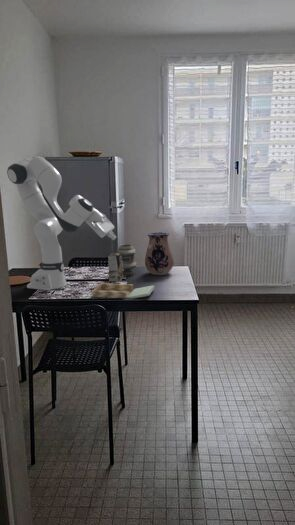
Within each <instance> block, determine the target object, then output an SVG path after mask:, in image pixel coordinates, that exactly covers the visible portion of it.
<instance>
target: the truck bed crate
mask: <svg viewBox="0 0 295 525" xmlns="http://www.w3.org/2000/svg"><path fill="white" fill-rule="evenodd" d="M133 290H134V284H130V283H128V284H127V283H105V282H103V283H102V282H100V284H98V285H97V286H96V287H94V289H92V290H91V293H92V294H91V295H92V297H93V298H111V299H112V298H113V299H114V298H115V299H128V298H127V297H128V296H129V295H130V294H131V293H132V291H133Z"/></svg>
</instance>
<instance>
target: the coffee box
mask: <svg viewBox="0 0 295 525" xmlns="http://www.w3.org/2000/svg"><path fill="white" fill-rule="evenodd" d="M107 258H108V259H107V260H108V277H109V278H108V281H109V282H122V281H123V280H124V275H123V260H122V253H117V252H111V253H110V254H109V255H108V256H107ZM122 279H123V280H122Z"/></svg>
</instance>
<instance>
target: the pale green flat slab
mask: <svg viewBox="0 0 295 525" xmlns="http://www.w3.org/2000/svg"><path fill="white" fill-rule="evenodd" d="M155 288H156V287H155V284H152V285H148V286H142V287H138V288H137V287H136V288H133V291H132V292H131V293H130V294H129V295H128V297H127V298H126V299H138V298H144V297H149V296H150V295H151V293H152V292H153V290H154V289H155Z"/></svg>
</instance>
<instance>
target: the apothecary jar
mask: <svg viewBox="0 0 295 525" xmlns="http://www.w3.org/2000/svg"><path fill="white" fill-rule="evenodd" d="M116 253H122V260H123V276H133V275H135V274H136V271H134V270H133V269H135V268H136V267H137V262H136V261H135V254H136V253H137V251H136V249H135V248H134V245H133V244H130V243H125V244H120V245H119V246H118V249H117V250H116Z"/></svg>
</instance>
